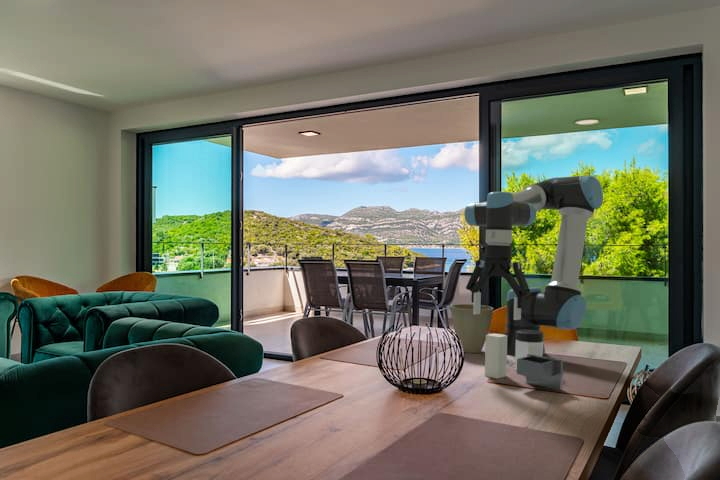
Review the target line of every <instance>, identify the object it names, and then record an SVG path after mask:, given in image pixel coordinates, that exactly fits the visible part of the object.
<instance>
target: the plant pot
mask: <svg viewBox="0 0 720 480" xmlns="http://www.w3.org/2000/svg"><path fill="white" fill-rule="evenodd" d="M450 308H451V310H450V311H451V319H452V324H453V330H454V334H455V333H456V335H457V336H458V337H459V339H460V340H461V343H462V345H463V349H464V352H463V353H468V354H479V353H481V352H482V350H483V348H484V345H485V344H486V335H488V334H489V330H490V327H491V323H492V319H493V313H494V307H492V306H488V305H485V304H484V305H482V304H481V306H480V314H473V303H472V304H471V303H470V304H467V303H462V304H461V303H460V304H458V303H456V304H452V305H450ZM456 335H455V336H456Z"/></svg>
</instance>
